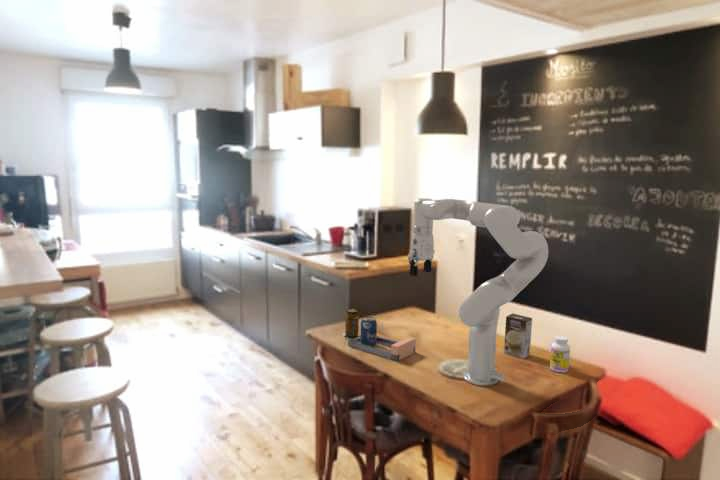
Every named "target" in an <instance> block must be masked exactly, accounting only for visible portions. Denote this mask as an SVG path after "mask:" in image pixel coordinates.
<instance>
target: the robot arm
mask: <svg viewBox="0 0 720 480" xmlns="http://www.w3.org/2000/svg"><path fill="white" fill-rule="evenodd" d="M520 215H521V214H520V212H519V210H517V208H516V207H514V206H511V205H506V204H497V203H489V202H479V201H472V200H471V201H470V200H464V199H455V198H443V199H431V198H425V197H423V198H422V197H421V198H416V199H414V205H413V221H412V222H413V223H412V224H413V225H412V227H413V228H412V239H411V246H410V253H408V255H407V260H408V263H409V275H410V276H413V277H418V273H419V270H418V269H419V266H418V263H419V262H423V272H425V273H431V272H432V263H433V258H434V254H435V251H436V250H435V249H434V248H435V247H434V246H435V243H434V241H435V240H434V234H433V231H434V230H433V229H434V228H433V227H434V220H435V221H441V220H448V219H455V220H463V221H466V222H469V223H470V224H471V225H472V226H473V227H480V228H486V229H487V230H488V232H489V233H490V234H491V236H492V237H493V238H494V239H495V241H496V242H497V244H499V246H500V247H501V248H502V249H503V251H504V252H505V253H506V254H507V255H508V257H510V258H513V259H514V260H515V261H514V262H512V263H511V264H510V265H509V266H508V267H507V268H506V269H505V270H504V271H503V272H502V273H500V274H499V275H497V276H495V277H494V278H490V279H489V280H486V281H485V282H483V283H481V284H480V285H479V286H478V287H477V288H476V289H475V290H474V291H473V292H472V293H471V294H470V295H469V296H468V297H467V298H466V299H465V300H464V301H463V302H462V303H461V304H460V306H459V311H458V314H459V318H460V321H461V322H462V323H463V324H464V325H465V326H467V327H469V331H468V332H469V337H468V355H467V370H465V371H464V372H463V375H462V377H463V379H464V380H465V381H466V382H468V383H469V384H471V385H476V386H481V387H482V386H483V387H485V386H486V387H488V386H493V385H495V384H497V383H498V382H502V383H504V382H505V374H503V373H501V372H500V373H499V372H498V368H497V367H495V365H496V349H497V348H496V346H497V345H496V344H497V332H498V331H497V329H498V322H499V318H500V311H501V309H500V308H501V307H502V306H504V305H507V303H510V302H511V301H512V300H514V298H516V297H517V296H518V294H519V293H520V292H521V291H523V290H524V289H525V288H526V287H527V286H528V285H529V283H531V282H532V281H533V280H534V279H535V278H536V277H537V276H538V275H539V274H540V272H542V270H543V269H544V267H545V265H546V264H547V261H548V258H549V246H548V242H547V240H546V238H545V237H544V235H543V234H542V233H540V232H538V231H533V230H527V231H522V230H520V228H519V227H518V225H519V223H520V221H521V216H520Z"/></svg>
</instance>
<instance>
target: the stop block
mask: <svg viewBox="0 0 720 480" xmlns="http://www.w3.org/2000/svg"><path fill="white" fill-rule="evenodd" d="M416 341H417V340H416V337H415V338H414V337H411V336H409V337H406V338H404V339H402V340H400V341H397V343H395V344H393V345H391V349H390V352H391V354H393V356H394V355H395V356H394V357H393V356H392V355H391V358H392V357H393V358H394V360H393V361H394V362H395V361H396V362H399V361H400V360H402V359H405V358H407V357H409V356H410V355H414V353H413V348H415V349H414V351H415V352H416ZM397 355H398V356H399V357H398V356H397ZM397 357H398V359H397ZM398 360H399V361H398Z"/></svg>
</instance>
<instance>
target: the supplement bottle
mask: <svg viewBox="0 0 720 480" xmlns="http://www.w3.org/2000/svg"><path fill="white" fill-rule="evenodd" d="M568 342H569V338H568V337H567V336H563V335H555V336H554V342H552V344H551V345H550V346H551V348H550V362H549V368H550V370H551V371H553V372H556V373H567V372H568V371H569V367H570V355H571V353H570V352H571V347H570V345H569V344H568Z"/></svg>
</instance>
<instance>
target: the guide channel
mask: <svg viewBox="0 0 720 480" xmlns="http://www.w3.org/2000/svg"><path fill="white" fill-rule="evenodd" d="M347 340H348V339H347ZM397 342H398V341H396V340H393V339H390V338H386V337H383V336H379V335H377V342H376V344H380V345H383V346H387V347H391V345H393V344H395V343H397ZM347 343H348V344H347V345H348V347H350V348H353V349H357V350H360V351H363V352H367V353H369V354H373V355H376V356H378V357H379V356H380V357H382V358H385V359H389V360H392V361H395V360H394V358H393V357H394V356H395V355H394V356H393V354H391V350H387V349H383V348H380V347H377V346H370V345H367V344H364V343H361V341H360V342H359V341H356V340H355V339H352V340H351V339H350V340H348V341H347ZM414 349H415V351H414ZM415 353H416V347H415V348H413V354H415ZM391 355H392V356H393V357H392V358H391ZM397 356H398V355H397ZM398 357H399V356H398ZM398 357H397V359H398ZM399 361H400V360H398V361H397V362H399Z"/></svg>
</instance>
